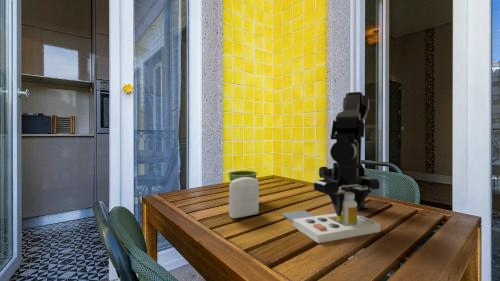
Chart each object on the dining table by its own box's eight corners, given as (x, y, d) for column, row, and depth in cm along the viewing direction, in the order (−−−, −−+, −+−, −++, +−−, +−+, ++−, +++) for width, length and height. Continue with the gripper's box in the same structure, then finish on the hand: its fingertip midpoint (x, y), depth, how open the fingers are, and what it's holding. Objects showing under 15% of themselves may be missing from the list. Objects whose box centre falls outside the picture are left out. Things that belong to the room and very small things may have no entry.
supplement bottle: (357, 225, 72) (357, 191, 72) (356, 231, 67) (357, 196, 67) (337, 222, 75) (337, 190, 74) (335, 228, 70) (336, 194, 69)
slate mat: (304, 211, 85) (304, 210, 85) (321, 220, 76) (321, 219, 76) (281, 214, 82) (281, 213, 82) (295, 224, 73) (295, 222, 73)
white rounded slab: (253, 210, 86) (253, 175, 86) (260, 214, 82) (260, 176, 82) (227, 216, 80) (226, 178, 80) (233, 220, 77) (233, 180, 76)
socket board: (348, 217, 79) (348, 209, 79) (380, 231, 67) (380, 222, 67) (292, 225, 72) (292, 217, 72) (318, 243, 60) (318, 232, 60)
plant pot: (240, 196, 106) (240, 169, 106) (263, 200, 99) (263, 172, 99) (221, 202, 97) (221, 173, 96) (245, 207, 90) (245, 176, 89)
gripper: (352, 156, 81) (351, 203, 82) (303, 158, 75) (302, 210, 75) (381, 159, 71) (380, 214, 71) (327, 162, 64) (326, 222, 65)
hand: (346, 214), depth 71 cm, fingers closed on supplement bottle, 5 cm apart
